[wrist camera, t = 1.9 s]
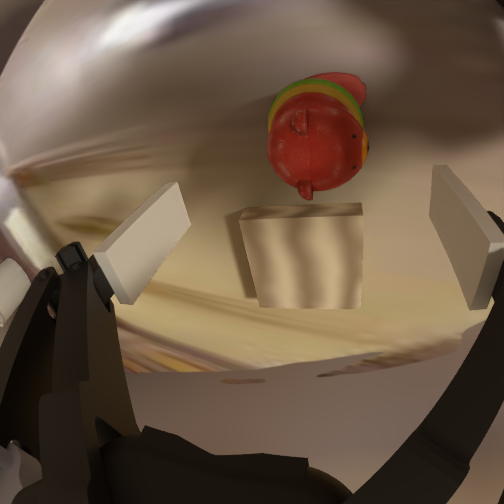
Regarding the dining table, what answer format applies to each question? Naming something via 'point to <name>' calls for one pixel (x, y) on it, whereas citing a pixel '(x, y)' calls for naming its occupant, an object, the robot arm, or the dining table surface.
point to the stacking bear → (318, 132)
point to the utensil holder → (11, 288)
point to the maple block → (305, 255)
